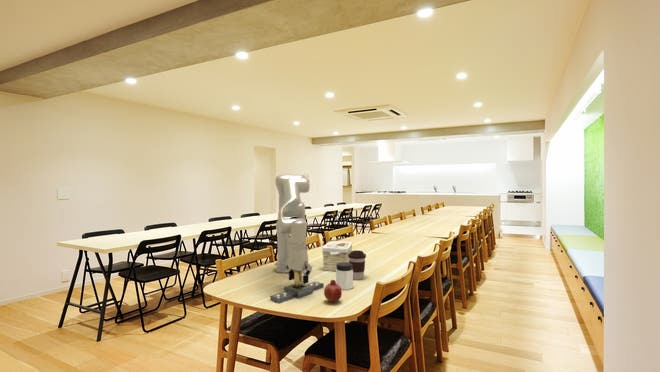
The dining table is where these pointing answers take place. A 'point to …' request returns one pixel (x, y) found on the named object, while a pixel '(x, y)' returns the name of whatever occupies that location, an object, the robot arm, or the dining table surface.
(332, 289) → the fruit
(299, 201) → the robot arm
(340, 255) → the storage basket
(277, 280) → the dining table surface
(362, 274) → the coffee cup
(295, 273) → the pin
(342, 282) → the jar
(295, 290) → the grey socket base
